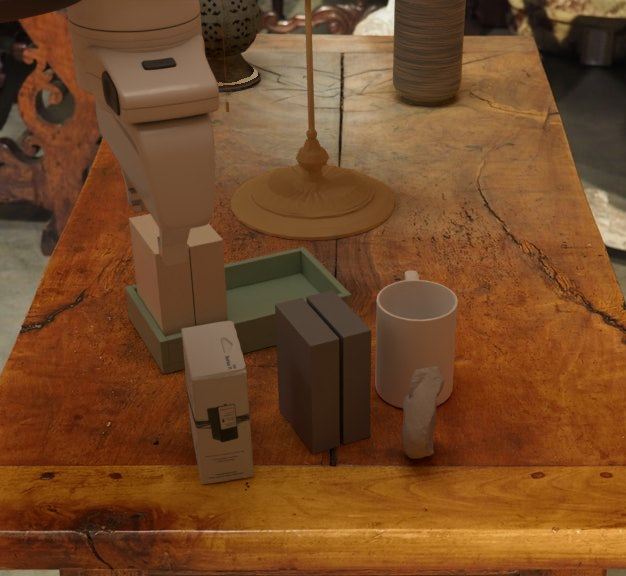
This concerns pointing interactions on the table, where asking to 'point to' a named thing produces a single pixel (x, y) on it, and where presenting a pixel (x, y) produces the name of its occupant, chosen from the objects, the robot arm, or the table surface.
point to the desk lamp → (312, 189)
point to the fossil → (421, 412)
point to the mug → (414, 335)
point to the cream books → (180, 278)
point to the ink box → (218, 402)
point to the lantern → (229, 39)
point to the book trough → (244, 302)
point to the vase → (428, 50)
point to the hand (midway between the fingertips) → (157, 233)
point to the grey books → (323, 370)
